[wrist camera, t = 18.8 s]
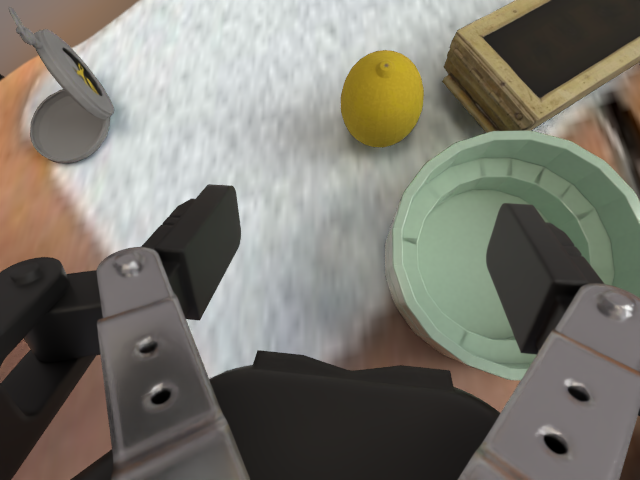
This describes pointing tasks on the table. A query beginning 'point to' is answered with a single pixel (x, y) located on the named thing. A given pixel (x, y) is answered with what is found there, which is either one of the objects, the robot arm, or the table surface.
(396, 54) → the lemon
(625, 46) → the box
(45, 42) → the pocket watch
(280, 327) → the table surface
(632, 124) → the table surface
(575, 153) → the bowl
